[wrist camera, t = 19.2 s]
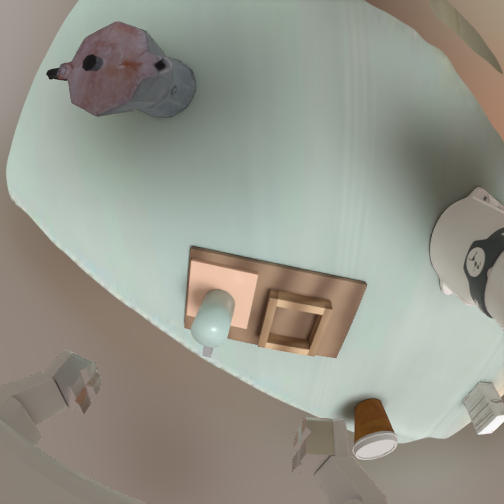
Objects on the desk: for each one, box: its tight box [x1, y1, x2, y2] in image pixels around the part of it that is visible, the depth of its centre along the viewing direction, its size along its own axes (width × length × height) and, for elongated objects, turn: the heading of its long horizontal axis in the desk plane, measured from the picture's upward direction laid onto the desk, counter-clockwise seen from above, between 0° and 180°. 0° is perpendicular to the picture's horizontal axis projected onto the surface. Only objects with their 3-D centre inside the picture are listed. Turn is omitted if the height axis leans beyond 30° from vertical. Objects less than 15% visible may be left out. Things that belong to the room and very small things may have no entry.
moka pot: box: [46, 22, 196, 117], centre depth 25 cm, size 10×15×20 cm, turn 84°
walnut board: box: [184, 246, 367, 358], centre depth 44 cm, size 27×15×4 cm, turn 80°
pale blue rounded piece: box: [191, 289, 235, 357], centre depth 41 cm, size 8×5×8 cm, turn 169°
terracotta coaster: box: [187, 258, 259, 329], centre depth 44 cm, size 10×10×1 cm
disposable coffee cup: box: [353, 399, 398, 460], centre depth 47 cm, size 10×10×12 cm
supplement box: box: [463, 382, 504, 434], centre depth 44 cm, size 7×7×13 cm
